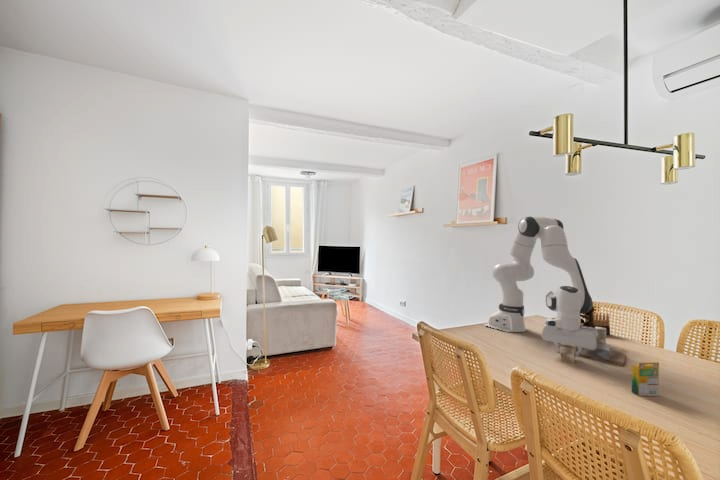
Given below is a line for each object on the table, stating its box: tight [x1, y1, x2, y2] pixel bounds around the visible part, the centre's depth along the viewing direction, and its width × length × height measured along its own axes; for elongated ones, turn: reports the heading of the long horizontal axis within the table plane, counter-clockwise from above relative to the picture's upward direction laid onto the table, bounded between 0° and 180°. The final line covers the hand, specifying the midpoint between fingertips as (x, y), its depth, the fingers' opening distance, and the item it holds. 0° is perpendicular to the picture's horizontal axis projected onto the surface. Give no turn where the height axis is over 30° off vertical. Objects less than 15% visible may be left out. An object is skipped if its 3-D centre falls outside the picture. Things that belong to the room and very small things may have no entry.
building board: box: [576, 327, 626, 367], centre depth 146 cm, size 22×16×11 cm
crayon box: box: [631, 361, 660, 397], centre depth 109 cm, size 7×3×12 cm, turn 92°
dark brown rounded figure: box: [580, 306, 595, 328], centre depth 165 cm, size 15×15×20 cm
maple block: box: [559, 344, 577, 364], centre depth 139 cm, size 5×5×6 cm
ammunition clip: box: [593, 312, 611, 336], centre depth 176 cm, size 11×2×12 cm, turn 77°
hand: (567, 354), depth 139 cm, fingers closed on maple block, 5 cm apart
